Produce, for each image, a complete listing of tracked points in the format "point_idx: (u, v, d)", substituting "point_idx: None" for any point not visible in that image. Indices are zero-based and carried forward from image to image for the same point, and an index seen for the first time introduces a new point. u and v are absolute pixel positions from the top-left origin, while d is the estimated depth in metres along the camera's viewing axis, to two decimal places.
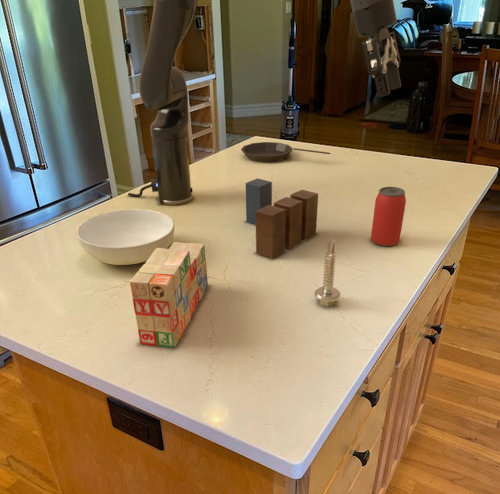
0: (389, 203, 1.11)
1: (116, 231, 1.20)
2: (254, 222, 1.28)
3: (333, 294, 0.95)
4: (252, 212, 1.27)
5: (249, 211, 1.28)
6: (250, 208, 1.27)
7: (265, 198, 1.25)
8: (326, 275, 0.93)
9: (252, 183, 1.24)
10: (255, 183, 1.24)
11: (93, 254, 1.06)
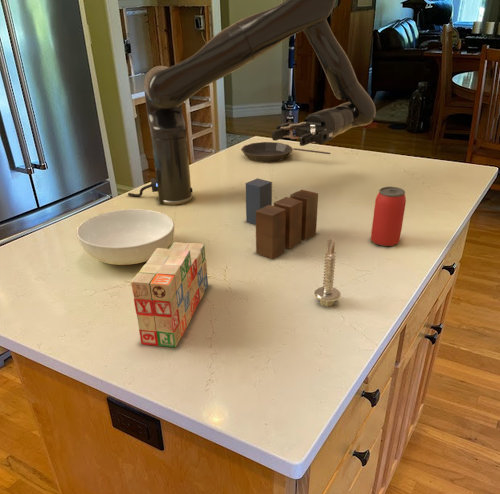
0: (389, 203, 1.11)
1: (116, 231, 1.20)
2: (254, 222, 1.28)
3: (333, 294, 0.95)
4: (252, 212, 1.27)
5: (249, 211, 1.28)
6: (250, 208, 1.27)
7: (265, 198, 1.25)
8: (326, 275, 0.93)
9: (252, 183, 1.24)
10: (255, 183, 1.24)
11: (93, 254, 1.06)
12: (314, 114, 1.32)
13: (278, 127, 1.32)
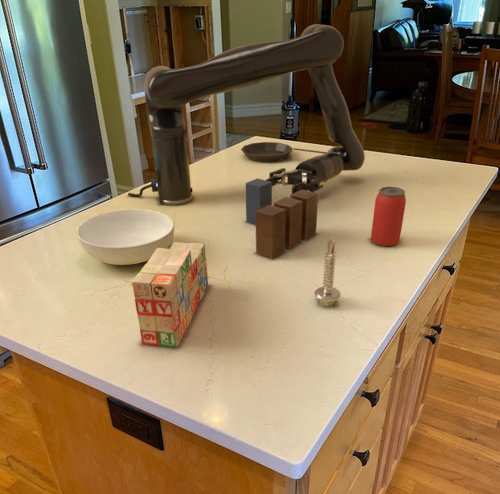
0: (389, 203, 1.11)
1: (116, 231, 1.20)
2: (254, 222, 1.28)
3: (333, 294, 0.95)
4: (252, 212, 1.27)
5: (249, 211, 1.28)
6: (250, 208, 1.27)
7: (265, 198, 1.25)
8: (326, 275, 0.93)
9: (252, 183, 1.24)
10: (255, 183, 1.24)
11: (93, 254, 1.06)
12: (305, 162, 1.37)
13: (271, 174, 1.37)
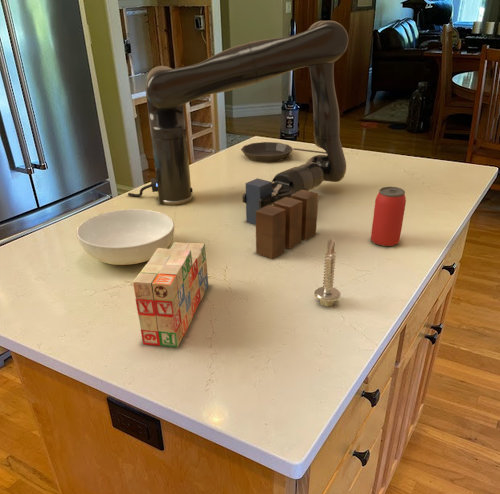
0: (389, 203, 1.11)
1: (116, 231, 1.20)
2: (254, 222, 1.28)
3: (333, 294, 0.95)
4: (252, 212, 1.27)
5: (249, 211, 1.28)
6: (250, 208, 1.27)
7: None
8: (326, 275, 0.93)
9: (252, 183, 1.24)
10: (255, 183, 1.24)
11: (93, 254, 1.06)
12: (282, 174, 1.31)
13: None
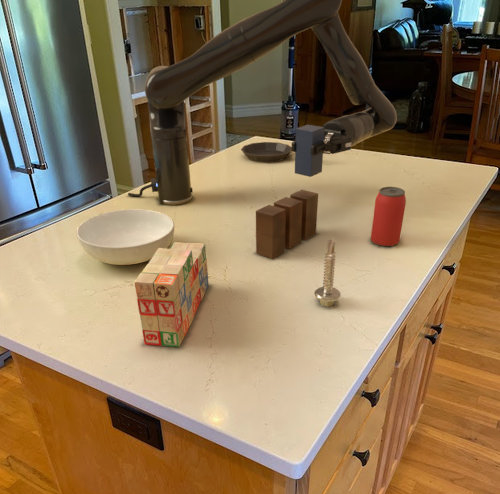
0: (389, 204, 1.11)
1: (116, 231, 1.20)
2: (304, 173, 1.18)
3: (333, 294, 0.95)
4: (302, 161, 1.17)
5: (298, 160, 1.17)
6: (299, 157, 1.17)
7: None
8: (326, 275, 0.93)
9: (304, 128, 1.14)
10: (307, 128, 1.14)
11: (93, 254, 1.06)
12: (333, 121, 1.21)
13: None
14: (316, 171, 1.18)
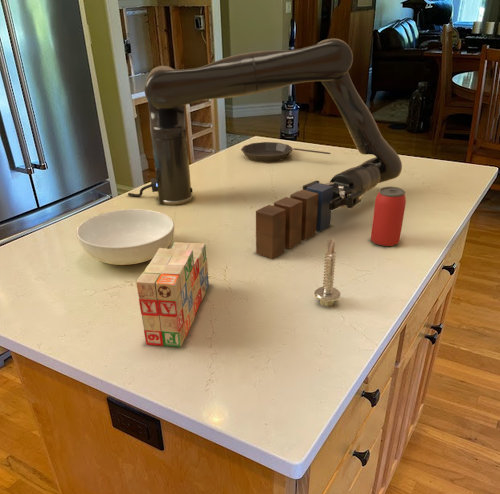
0: (389, 204, 1.11)
1: (116, 231, 1.20)
2: None
3: (333, 294, 0.95)
4: None
5: None
6: None
7: (326, 203, 1.22)
8: (326, 275, 0.93)
9: (314, 188, 1.20)
10: (316, 188, 1.20)
11: (93, 254, 1.06)
12: (342, 174, 1.27)
13: (305, 187, 1.28)
14: (325, 226, 1.25)
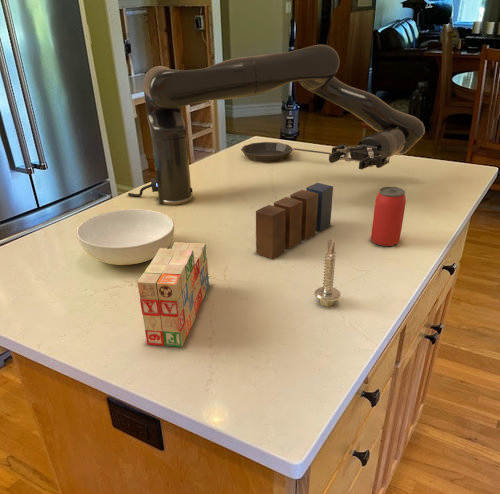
0: (389, 204, 1.11)
1: (116, 231, 1.20)
2: None
3: (333, 294, 0.95)
4: None
5: None
6: None
7: (326, 203, 1.22)
8: (326, 275, 0.93)
9: (314, 188, 1.20)
10: (316, 188, 1.20)
11: (93, 254, 1.06)
12: (370, 137, 1.31)
13: (334, 149, 1.32)
14: (325, 226, 1.25)
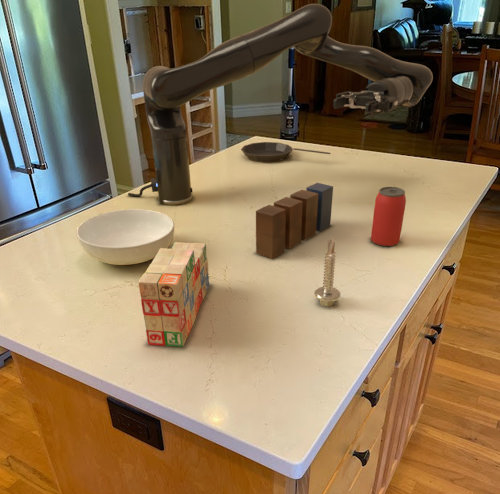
0: (389, 204, 1.11)
1: (116, 231, 1.20)
2: None
3: (333, 294, 0.95)
4: None
5: None
6: None
7: (326, 203, 1.22)
8: (326, 275, 0.93)
9: (314, 188, 1.20)
10: (316, 188, 1.20)
11: (93, 254, 1.06)
12: (376, 82, 1.24)
13: (338, 95, 1.25)
14: (325, 226, 1.25)
